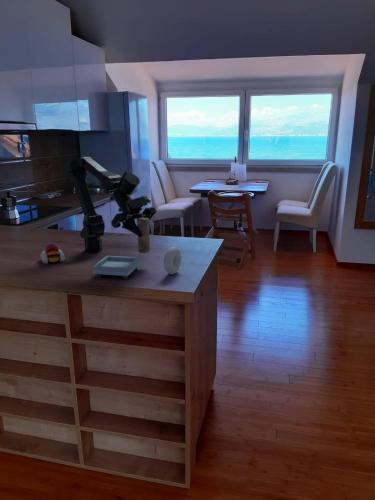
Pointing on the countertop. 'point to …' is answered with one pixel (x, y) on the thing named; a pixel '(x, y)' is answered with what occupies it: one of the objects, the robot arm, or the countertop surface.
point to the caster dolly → (116, 266)
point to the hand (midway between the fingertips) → (146, 235)
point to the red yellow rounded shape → (52, 254)
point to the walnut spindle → (143, 235)
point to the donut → (172, 260)
